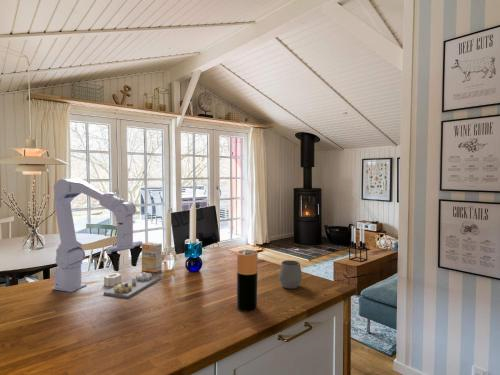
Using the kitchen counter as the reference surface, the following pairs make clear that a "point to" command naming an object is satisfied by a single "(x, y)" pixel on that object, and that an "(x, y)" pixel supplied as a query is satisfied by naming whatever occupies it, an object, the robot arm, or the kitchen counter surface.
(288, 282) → the cup
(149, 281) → the gear board
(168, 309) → the kitchen counter surface
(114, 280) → the loose gear
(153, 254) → the supplement box
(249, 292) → the battery
